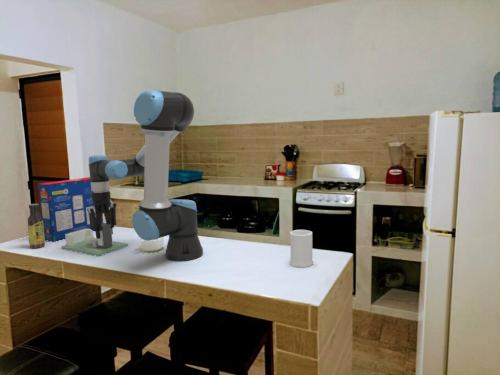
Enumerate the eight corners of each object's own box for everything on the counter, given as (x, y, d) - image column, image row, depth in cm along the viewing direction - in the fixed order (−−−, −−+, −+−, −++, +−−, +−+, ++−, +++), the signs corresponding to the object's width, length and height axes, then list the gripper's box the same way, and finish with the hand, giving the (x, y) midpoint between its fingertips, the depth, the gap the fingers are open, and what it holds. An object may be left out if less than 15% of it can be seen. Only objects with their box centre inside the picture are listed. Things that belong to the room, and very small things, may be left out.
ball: (97, 243, 170) (96, 235, 170) (90, 246, 167) (89, 237, 166) (92, 242, 172) (91, 234, 172) (84, 245, 169) (83, 236, 168)
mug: (300, 256, 149) (299, 226, 147) (320, 259, 144) (320, 229, 142) (286, 265, 139) (285, 233, 137) (307, 269, 134) (306, 236, 132)
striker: (113, 245, 166) (112, 223, 164) (103, 248, 161) (101, 226, 160) (103, 243, 170) (101, 221, 168) (92, 246, 165) (90, 224, 163)
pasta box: (94, 227, 206) (90, 177, 202) (103, 228, 202) (99, 177, 198) (44, 240, 183) (38, 183, 179) (53, 242, 179) (47, 184, 175)
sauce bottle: (39, 249, 168) (34, 205, 165) (26, 248, 169) (21, 205, 166) (48, 244, 175) (44, 203, 172) (36, 244, 176) (32, 203, 173)
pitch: (128, 245, 169) (127, 233, 168) (98, 256, 155) (96, 242, 154) (92, 239, 182) (91, 227, 181) (61, 248, 168) (59, 235, 167)
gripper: (111, 188, 170) (115, 237, 174) (77, 193, 156) (82, 248, 159) (122, 188, 166) (126, 239, 170) (89, 194, 152) (94, 250, 155)
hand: (105, 243), depth 164 cm, fingers closed on striker, 4 cm apart
